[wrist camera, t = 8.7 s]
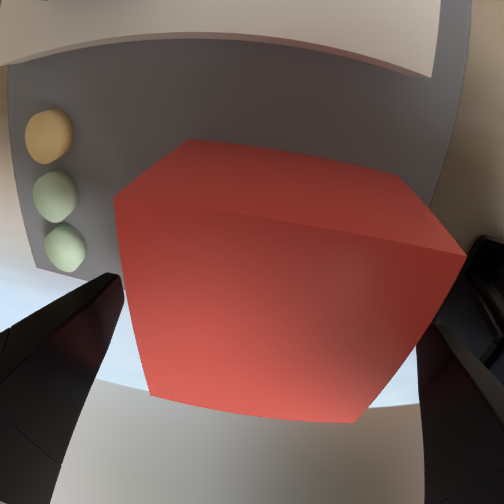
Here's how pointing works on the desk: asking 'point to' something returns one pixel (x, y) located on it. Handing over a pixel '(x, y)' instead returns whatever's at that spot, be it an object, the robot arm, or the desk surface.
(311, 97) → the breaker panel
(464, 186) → the desk surface
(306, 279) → the red block
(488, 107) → the desk surface
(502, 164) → the desk surface
